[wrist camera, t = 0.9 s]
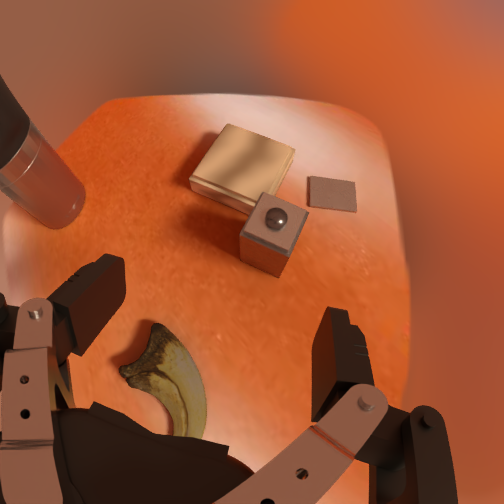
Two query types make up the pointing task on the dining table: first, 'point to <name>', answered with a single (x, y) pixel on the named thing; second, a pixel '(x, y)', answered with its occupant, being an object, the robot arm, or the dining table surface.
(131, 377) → the claw
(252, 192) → the stand
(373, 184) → the dining table surface
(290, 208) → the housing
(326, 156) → the dining table surface
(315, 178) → the cover plate
